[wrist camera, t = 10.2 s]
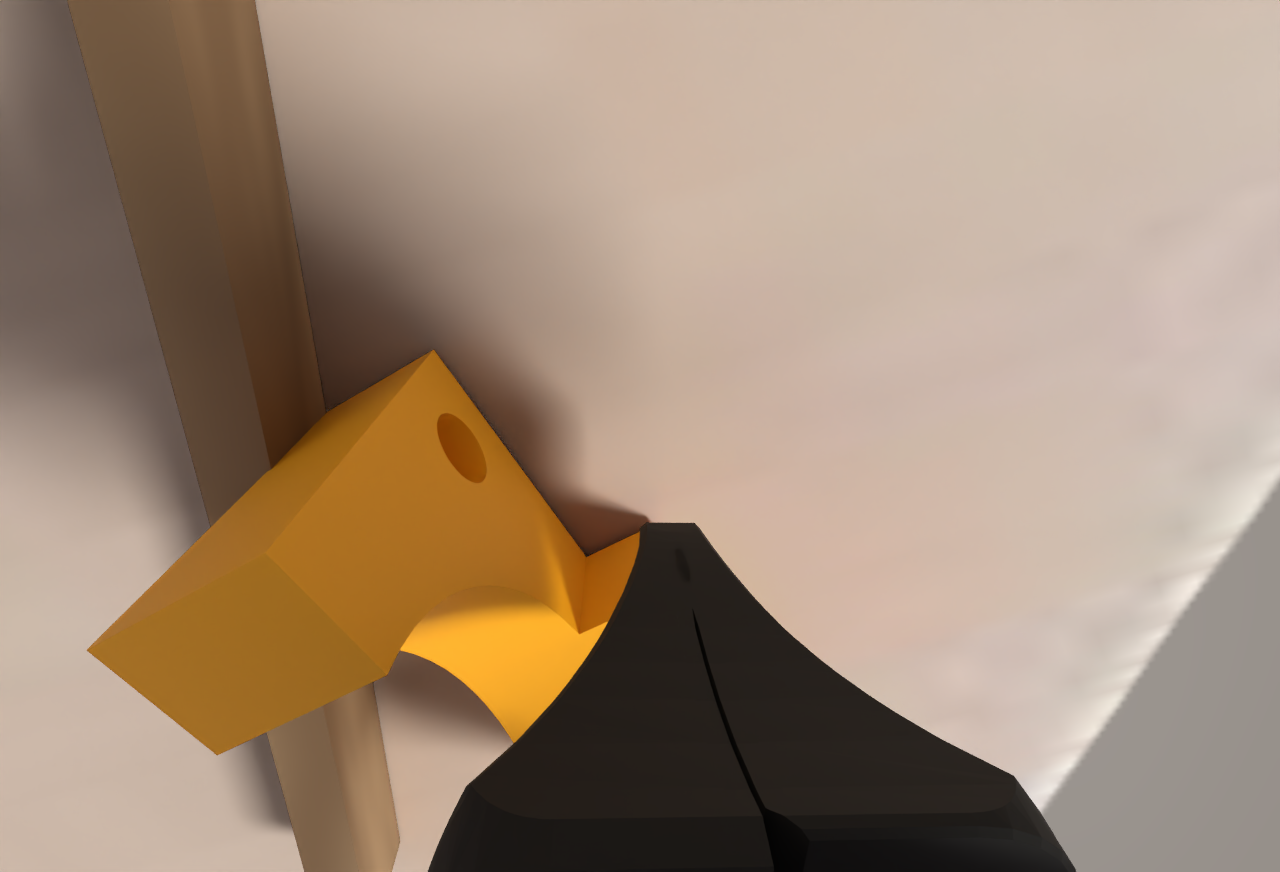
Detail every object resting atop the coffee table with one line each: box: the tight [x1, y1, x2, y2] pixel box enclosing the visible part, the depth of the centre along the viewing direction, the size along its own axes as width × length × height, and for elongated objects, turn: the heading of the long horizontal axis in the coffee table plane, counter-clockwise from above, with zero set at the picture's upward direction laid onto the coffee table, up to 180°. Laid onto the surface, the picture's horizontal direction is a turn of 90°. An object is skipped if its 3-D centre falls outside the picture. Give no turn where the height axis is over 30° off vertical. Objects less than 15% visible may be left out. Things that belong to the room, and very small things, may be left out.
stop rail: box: [67, 0, 400, 872], centre depth 13 cm, size 1×22×2 cm, turn 177°
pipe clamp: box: [87, 350, 640, 755], centre depth 12 cm, size 12×4×6 cm, turn 29°
